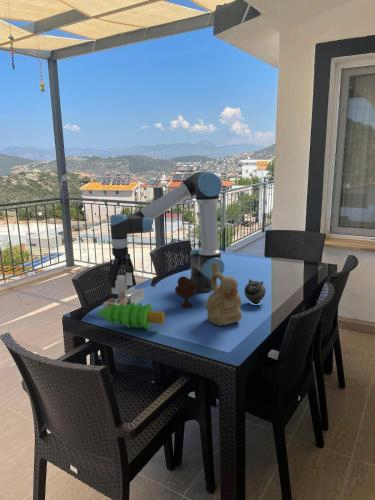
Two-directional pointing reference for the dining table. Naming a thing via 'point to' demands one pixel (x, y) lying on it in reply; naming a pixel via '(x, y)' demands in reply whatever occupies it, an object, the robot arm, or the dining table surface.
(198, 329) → the dining table surface
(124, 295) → the shiny silver metal piece
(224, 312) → the ceramic vessel
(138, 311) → the decorative tree
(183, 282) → the ice cream bowl
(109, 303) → the socket
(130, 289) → the channel
